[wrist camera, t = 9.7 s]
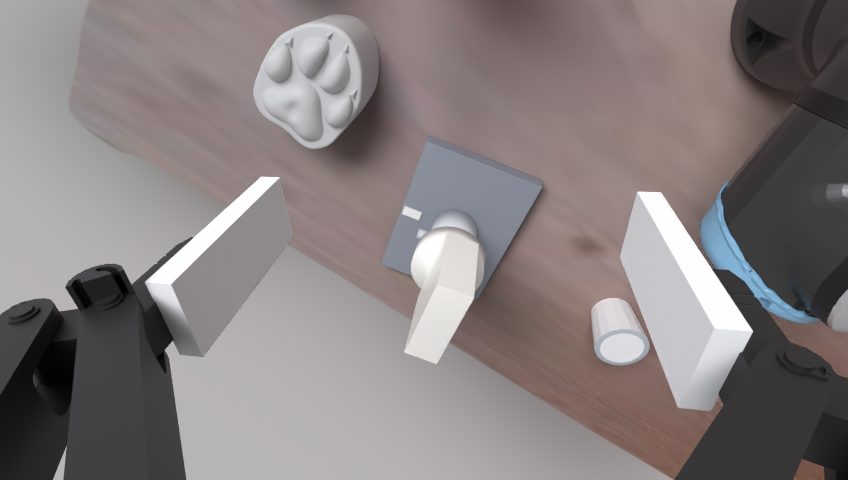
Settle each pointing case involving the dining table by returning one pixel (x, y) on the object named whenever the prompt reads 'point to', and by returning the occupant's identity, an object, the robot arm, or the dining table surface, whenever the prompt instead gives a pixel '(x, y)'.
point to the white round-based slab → (443, 288)
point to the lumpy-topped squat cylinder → (318, 78)
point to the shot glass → (617, 333)
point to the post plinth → (461, 204)
